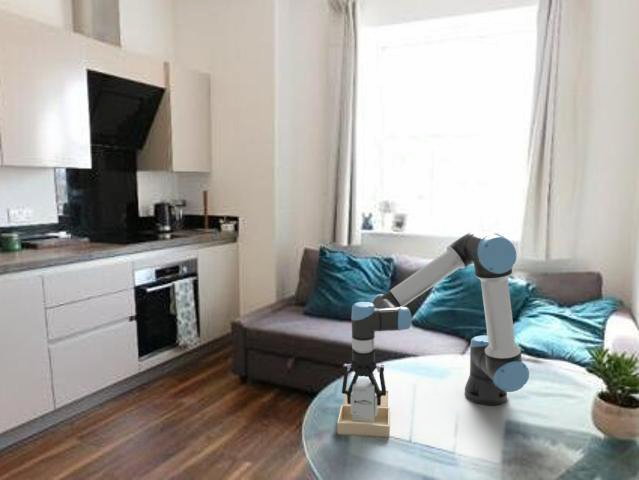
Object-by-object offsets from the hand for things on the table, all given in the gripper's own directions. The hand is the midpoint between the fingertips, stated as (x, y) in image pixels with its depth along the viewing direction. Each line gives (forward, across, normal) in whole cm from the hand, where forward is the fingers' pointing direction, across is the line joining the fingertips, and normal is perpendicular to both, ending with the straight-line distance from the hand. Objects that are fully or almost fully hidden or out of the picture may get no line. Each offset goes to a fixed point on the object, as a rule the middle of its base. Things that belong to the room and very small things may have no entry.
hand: (364, 412), depth 162 cm
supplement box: (+2, 0, 0) cm, 2 cm away
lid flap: (0, 0, -10) cm, 10 cm away
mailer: (+5, 0, 0) cm, 5 cm away
